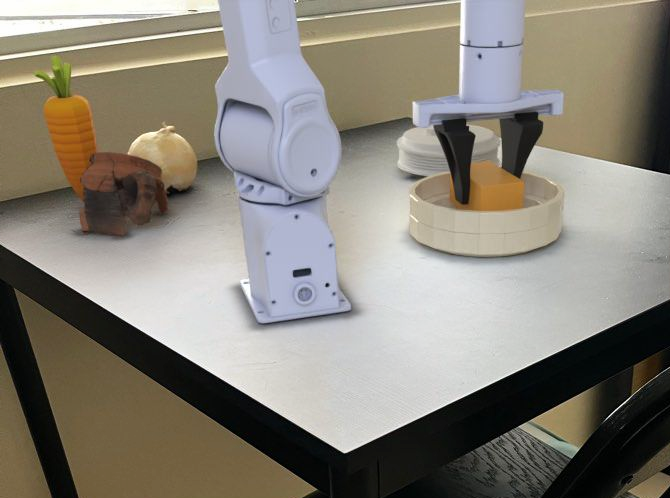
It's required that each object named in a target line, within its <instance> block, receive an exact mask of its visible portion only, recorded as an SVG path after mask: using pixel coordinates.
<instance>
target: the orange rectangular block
mask: <svg viewBox="0 0 670 498" xmlns="http://www.w3.org/2000/svg"><path fill="white" fill-rule="evenodd" d="M501 167H502V166H500V165H499V166H498V165H496V164H494V163H493V162H491V161H482V162H473V163H471V168H470V195H469V203H468V204H465V205H462V204H460V203H459V202H458V201H456V200H455V193H454V187H453V182H452V177H451V173H450V202H451V203H453V204H454V205H455V206H457V207H458V208H459V209H460V210H471V211H506V210H514V209H522V208H523V196H524V181H522V180H520V179H519V178H517V177H515V176H514V175H512V174H511V173H509V172H507V171H506V170H504V169H502V168H501Z"/></svg>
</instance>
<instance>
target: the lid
mask: <svg viewBox="0 0 670 498" xmlns="http://www.w3.org/2000/svg"><path fill="white" fill-rule="evenodd" d="M466 126H469V131H471V132H472V133H474V134H475V135H476V137H475V141H474V146H473V152H472V159H471V163H473V162H482V161H491V162H493V163H494V164H496V165H498V166H499V167H500V162H501V161H500V158H499V157H498V156H499V155H498V154H499V150H498V149H499V147H500V146H501V143H502V142H501V138H500V137H498V135H496V134H495V133H494V131H493V130H491V129H490V128H487V127H483V126H480V125H474V124H466ZM396 146H397V148H398V150H399V151H398V154H399V155H398V156H399V157H398V159H397V162H396V165H397V168H399V169H400V170H402V171H404V172H406V173H409V174H413V175H416V176H424V177H428V176H431V175H435V174H439V173H444V172H449V171H450V169H449V166H448V163H447V160H446V157H445V154H444V151H443V149H442V147H441V144H440V142H439V140H438V138H437V135H436V133H435V131H434V127H433V125H430V127H427V128H419V127H417V126H416V127H413V128H410V129H408V130H406V131H404V133H403V135H402V136H400V137H399V138H398V139H397V140H396Z"/></svg>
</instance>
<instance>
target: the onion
mask: <svg viewBox="0 0 670 498" xmlns="http://www.w3.org/2000/svg"><path fill="white" fill-rule="evenodd" d="M161 125H162V127H163V128H160V129H159V130H158V131H151V132H146V133H143V134H141V135H140V136H139V137H137V138H136V139H135V140H134V141H133V142H132V143H131V145H130V147H129V148H128V151H127V154H128V155H133V156H138V157H141V158H143V159H147V160H149V161H151V162H153V163H155V164H156V165H158V166H159V167H160V168H161V169H162V174H161V180H162V182H163V183H164V190H165V193H166V196H167V195H168V194H170V191H167V190H168V189H169V188H170V187H171V188H172V189H176V190H177V191H179V192H181V191H184V190H187V189H188V188H189V187H190V186H191V185H192V183H194V181H195V178H196V176H197V172H198V158H197V155H196V153H195V150H194V149H193V147H192V146H191V144H189V142H188V141H187V139H185V138H184V137H182V136H181V135H179V134H178V133H175V132H177V129H176V127H175V126H173V125H168V126H167V125H166V121H162V123H161Z"/></svg>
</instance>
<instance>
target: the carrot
mask: <svg viewBox="0 0 670 498" xmlns="http://www.w3.org/2000/svg"><path fill="white" fill-rule="evenodd" d="M50 60H51V61H50V62H51V63H52V67H51V69H52V71H51V72H52V74H53V76H52V77H50V76H49V75H48V74H47V73H45V72H43V71H41V70H38V69H36V70H35V71H34V77H36V78H38V79H40V80H43V81H44V83H46V84H47V85H48V86H49V87H50V88H51V89H52V90H53V92H54V94H55V95H54V96H51V97H49V98H48V99H47V100H46V102H45V103H44V105H43V114H44V118H45V122H46V125H47V129H48V132H49V136H50V139H51V143H52V146H53V149H54V152H55V155H56V157H57V159H58V162H59V164H60V167H61V169H62V171H63V173H64V175H65V178H66V180H67V182H68V183H69V184H70V186H71V188H72V189H73V191H74V192H75V194H76V195H77V196H78V197H79V198H80V200H81V201H82V202H83V203H84V196H83V188H84V187H83V186H82V184H81V183H80V178H81V177H82V175H83V173H84V172H85V170H86V168H87V167H89V166H90V165H91V162H90V161H89V159H90V157H91V155H92V154H95V153H99V151H98V149H99V148H98V141H97V134H96V128H95V123H94V118H93V112H92V109H91V105H90V102H89V100H88V99H87V98H85V97H84V96H82V95H80V94H79V95H78V94H72V93H71V90H70V86H71V80H72V65H70V63H69V62H64V63H63V61H62V59H61V57H59V56H58V55H52V56H50Z"/></svg>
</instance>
